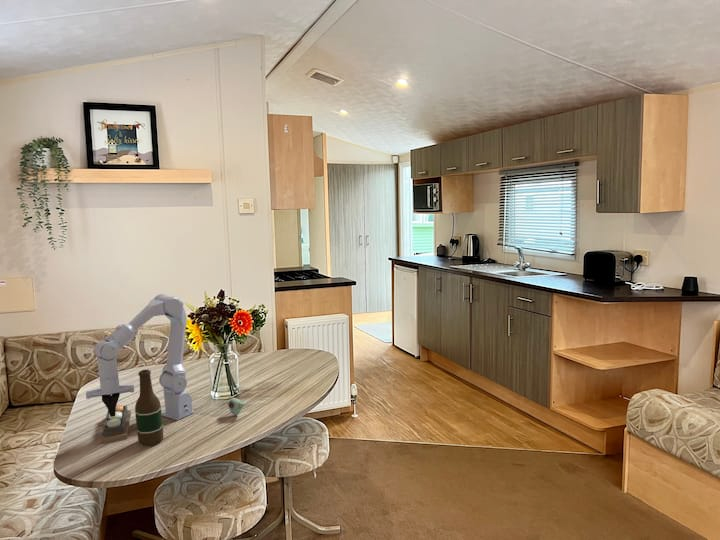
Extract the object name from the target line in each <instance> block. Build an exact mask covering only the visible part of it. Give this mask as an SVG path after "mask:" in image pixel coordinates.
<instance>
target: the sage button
mask: <svg viewBox="0 0 720 540" xmlns="http://www.w3.org/2000/svg"><path fill="white" fill-rule="evenodd" d="M117 426H121V420H120V419H112V420H109V421H108V422H107V428H111V427H117Z"/></svg>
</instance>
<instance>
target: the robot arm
mask: <svg viewBox="0 0 720 540" xmlns="http://www.w3.org/2000/svg"><path fill="white" fill-rule="evenodd" d="M158 316H159V317H160V316H165V317H166V318H167V319H168V320H169V321H170V325H169V327H170V328H169V336H168V346H167V354H166V355H167V357H166V364H165V365H164V366H162V371H161V374H160V376H159V379H158V381H159V384H160V386H161V387H162V388H163V390H162V391H163V399H164V412H161V413H162V417H165V418H168V419H171V420H175V421H178V420H179V421H180V419H183V418H185V417H187V416H189V415H192V414H194V413H195V410H193V403H192V396H191V394H190V393H188V392H187V391H186V390H185V389H186V388H187V385H188V379H187V371H186V369H185V368H184V367H185V366H183V360H184V351H185V349H184V348H185V343H186V342H185V339H186V331H187V330H186V329H187V321H188V320H187V319H188V318H187V313H186V310H185V308H184V302H183V301H182V300H181V299H180V298H178V297H177V296H170V295H166V294H163V293H161V294H160V293H159V294H157V295H156V296H155V297H154V298H152V299H151V300H149V302H148V304H147V305H146V306H145V307H144V308H143V309H142V310H141V311H140V312H139V313H137V315H136V316H134V317H133V318H132V319H131V321H129V323H127V324H126V323H122V324H121V325H119V324H118V325H116V327H115V328H116V329H115V330H113V332H111V333H110V334H109V335H107V336H105V337H104V339H103V340H99V341H98V342H97V343H96V344H95V346H94V348H93V354H94V355H95V356H96V358H97V366H98V377H99V385H100V387H99V388H97V389H94V390H87V391H86V393H85V398H86V399H85V400H89V399H91V398H97V397H101V401H102V402H103V404H104V406H105V407H106V409H107V412H108V411H109V413H110V416H111V417H112V416H115V414H116V413H115V412H116V405H118V401H119V398H120V394H125V393H127V394H128V393H135V385H134V384H130V385H120V379H119V370H118V369H119V368H118V359H117V357H118V356H119V353H120V351H121V349H122V348H123V347H124V346H125V345H127V344H128V343H129V342H130V341H131V340H132V339H134V338H135V336H136V331H137V330H138V329H140V328H141V327H142V326H144V325H145V324H146V323H148V322H149V321H150V320H151V319H153V317H158Z"/></svg>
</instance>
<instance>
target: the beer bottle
mask: <svg viewBox="0 0 720 540" xmlns="http://www.w3.org/2000/svg"><path fill="white" fill-rule="evenodd" d="M151 374H152V371H151V370H149V369H142V370H139V372H138V375H137V376H139V397H138V398H137V400H136V402H135V408H134V409H135V411H134V412H135V421H136V432H137V434H136V435H137V440H138V443H139V445H140V446H142V447H152V446H156V445H159V444H160V443H162V441H163V439H164V425H163V416H162V413H163V412H162V405H161V402H160V399H159V398H158V396H157V395H156V394H155V393H154V388H153V384H152V379H151V378H152V376H151Z"/></svg>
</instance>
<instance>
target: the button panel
mask: <svg viewBox="0 0 720 540" xmlns="http://www.w3.org/2000/svg"><path fill="white" fill-rule="evenodd" d="M123 409H124V411H123V412H122V419H120V420H121V426H117V427H111V428H107V422H108V421H109V414H110V413H109V411H108V410H107V413H106V415H105V419H104V422H103V423H104V424H103V427H102V428H103V429H102V432H101V436H100V444H104V443H105V444H106V443H111V442H116V441H122V440H128V438H129V437H128V436H129V430H130V425H131V424H130V423H131V416H132V412H131V410H129V409H128V405H127V404H126V405H123Z"/></svg>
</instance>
